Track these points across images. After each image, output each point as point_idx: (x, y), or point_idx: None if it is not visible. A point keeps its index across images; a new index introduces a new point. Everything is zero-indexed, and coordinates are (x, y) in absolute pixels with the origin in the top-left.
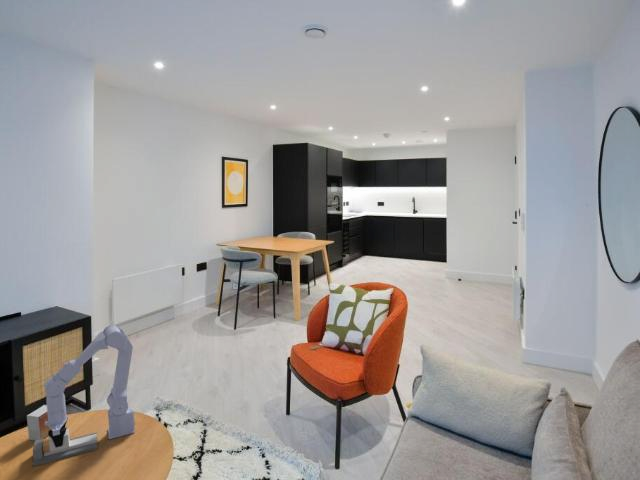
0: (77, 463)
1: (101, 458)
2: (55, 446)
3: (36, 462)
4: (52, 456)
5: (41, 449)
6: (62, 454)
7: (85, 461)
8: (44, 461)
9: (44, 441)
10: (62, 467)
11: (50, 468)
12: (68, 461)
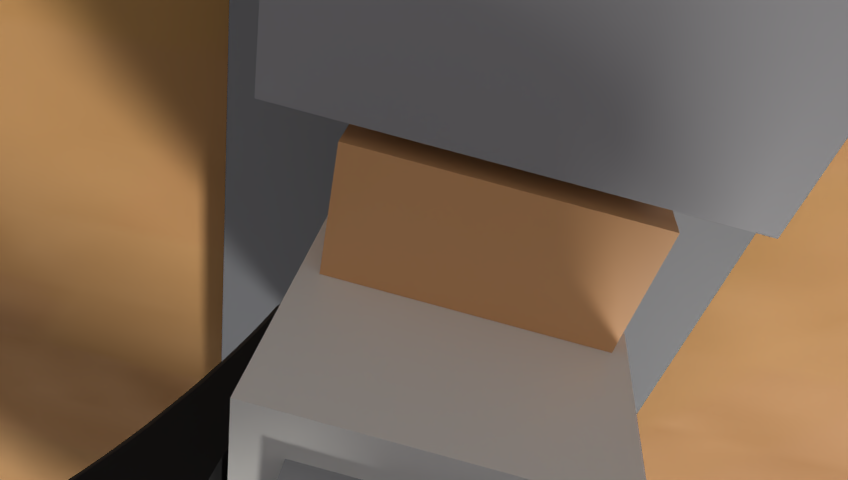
0: (48, 322)
1: (51, 465)
2: (269, 317)
3: None
4: (296, 156)
5: (268, 75)
6: (264, 273)
7: (56, 378)
8: (233, 15)
9: (590, 224)
10: (25, 189)
11: (60, 56)
12: (134, 269)
